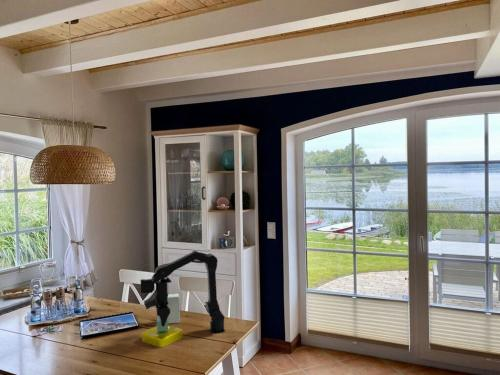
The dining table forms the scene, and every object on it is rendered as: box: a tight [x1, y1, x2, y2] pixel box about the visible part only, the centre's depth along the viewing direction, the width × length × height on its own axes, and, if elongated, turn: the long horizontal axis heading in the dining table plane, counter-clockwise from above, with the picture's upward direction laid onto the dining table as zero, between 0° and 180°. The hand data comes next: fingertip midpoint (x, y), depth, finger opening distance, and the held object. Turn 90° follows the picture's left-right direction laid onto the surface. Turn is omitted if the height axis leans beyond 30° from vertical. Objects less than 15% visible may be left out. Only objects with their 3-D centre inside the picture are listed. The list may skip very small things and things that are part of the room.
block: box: [156, 317, 169, 332], centre depth 188 cm, size 5×5×5 cm
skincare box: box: [167, 292, 181, 325], centre depth 209 cm, size 8×6×15 cm
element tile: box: [141, 324, 183, 348], centre depth 187 cm, size 15×15×5 cm
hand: (162, 322), depth 188 cm, fingers open, 9 cm apart
